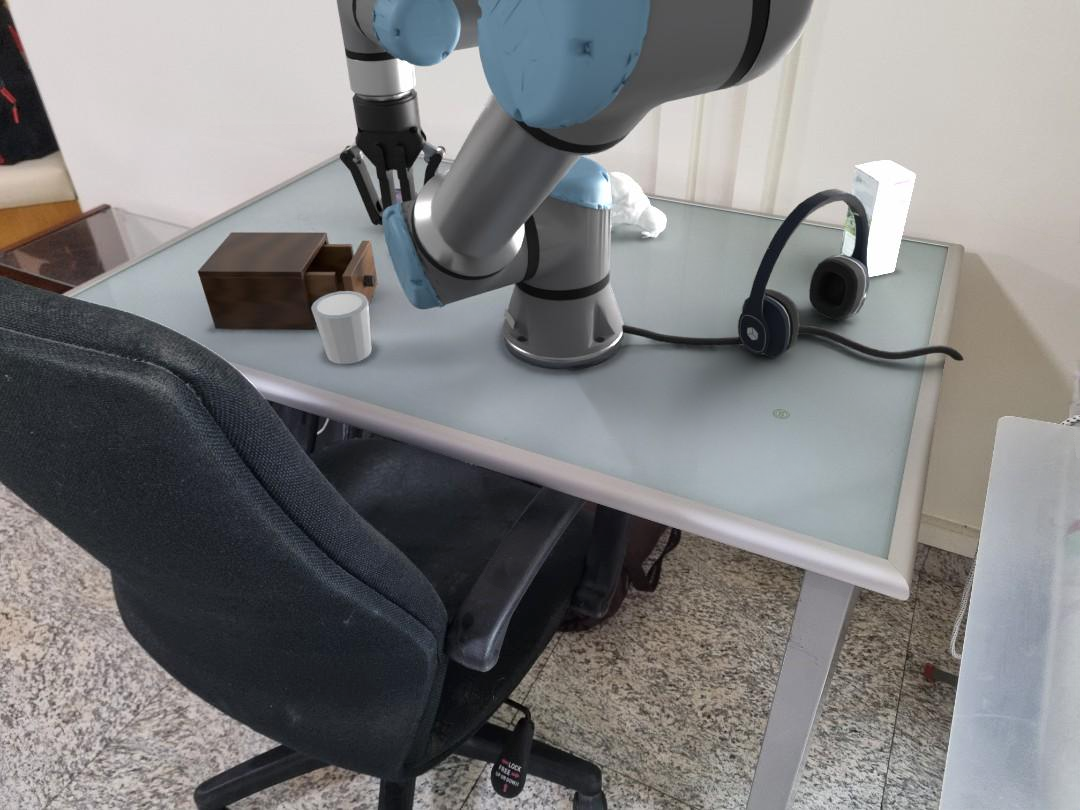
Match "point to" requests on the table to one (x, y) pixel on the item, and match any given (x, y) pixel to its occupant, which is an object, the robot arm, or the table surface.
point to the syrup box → (880, 212)
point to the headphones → (832, 288)
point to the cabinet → (261, 280)
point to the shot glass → (344, 326)
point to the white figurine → (633, 206)
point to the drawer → (341, 271)
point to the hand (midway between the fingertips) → (409, 271)
